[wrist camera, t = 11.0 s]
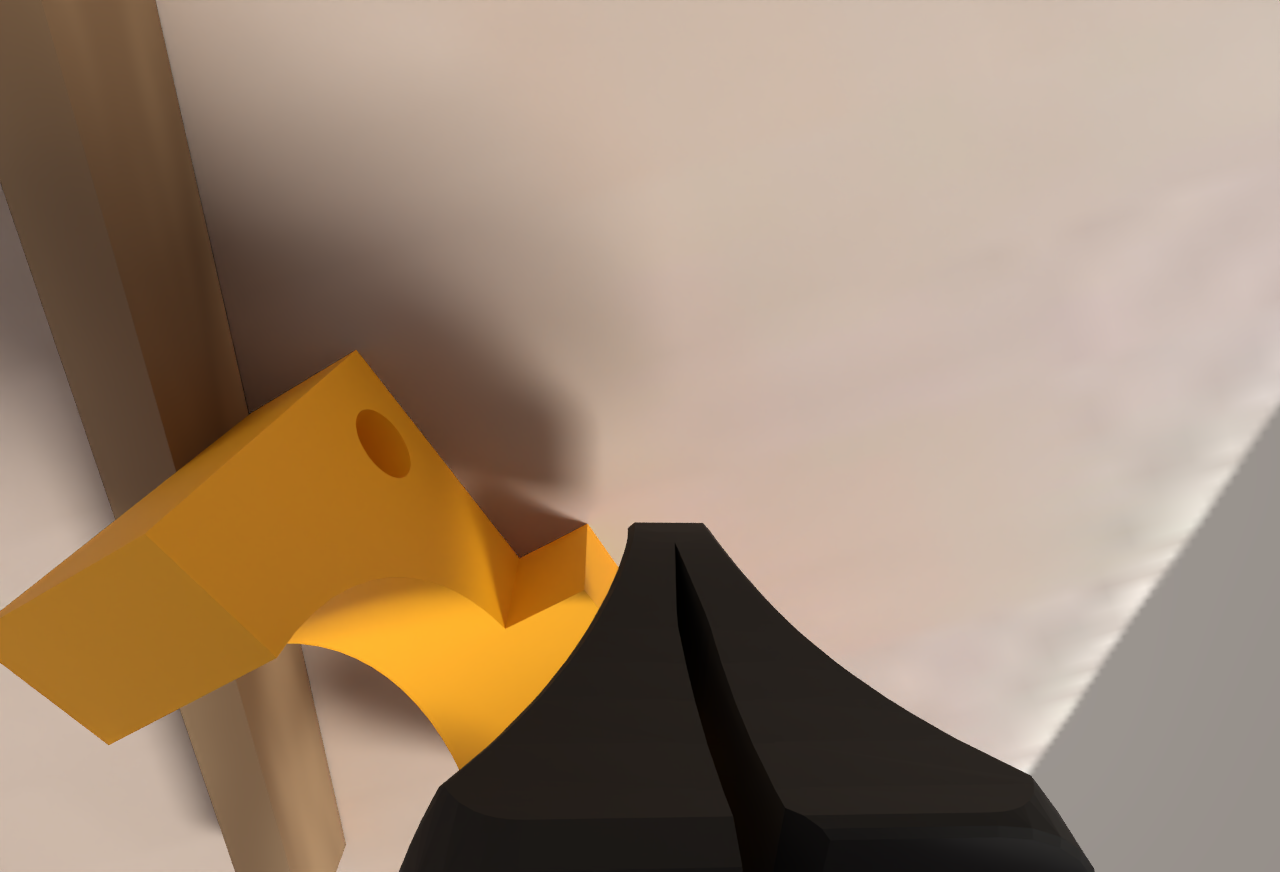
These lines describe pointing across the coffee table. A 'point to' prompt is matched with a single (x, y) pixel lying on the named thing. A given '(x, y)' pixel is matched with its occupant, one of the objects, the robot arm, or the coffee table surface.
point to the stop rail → (151, 357)
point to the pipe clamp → (308, 576)
